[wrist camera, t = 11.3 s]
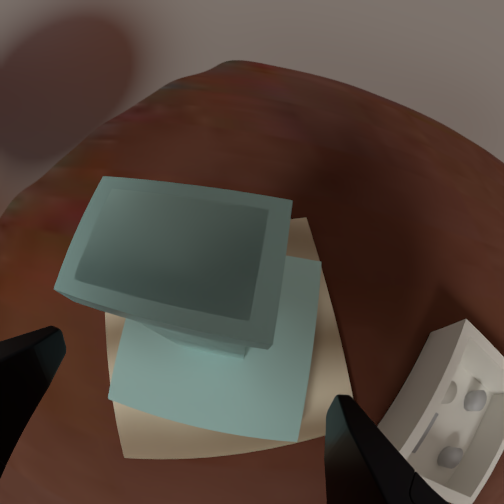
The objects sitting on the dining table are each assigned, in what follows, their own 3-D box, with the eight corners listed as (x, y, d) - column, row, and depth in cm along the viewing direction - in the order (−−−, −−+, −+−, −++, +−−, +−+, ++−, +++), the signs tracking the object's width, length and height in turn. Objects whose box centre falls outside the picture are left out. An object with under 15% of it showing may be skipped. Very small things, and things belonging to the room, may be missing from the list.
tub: (437, 497, 10) (468, 508, 7) (354, 456, 13) (383, 473, 9) (495, 390, 14) (528, 385, 10) (430, 332, 16) (465, 318, 13)
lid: (291, 435, 13) (396, 534, 2) (120, 397, 13) (-46, 394, 3) (314, 273, 17) (402, 123, 7) (160, 246, 18) (87, 90, 7)
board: (354, 423, 14) (358, 424, 13) (127, 455, 12) (124, 457, 12) (304, 221, 19) (306, 217, 19) (109, 250, 18) (106, 246, 17)
